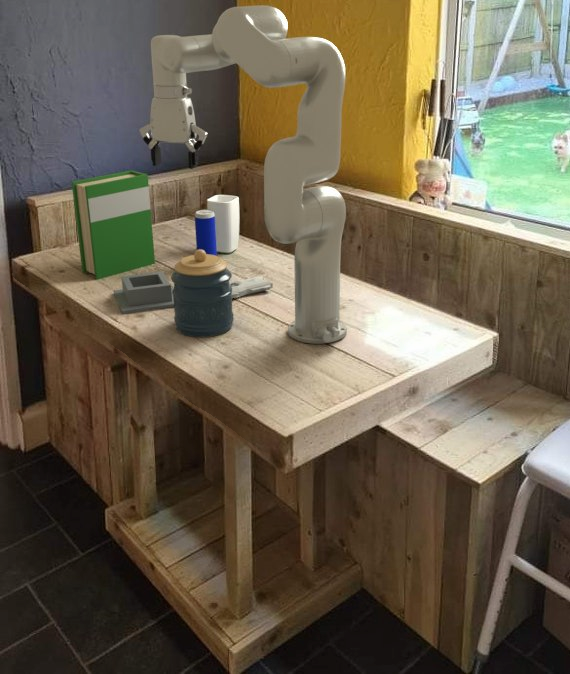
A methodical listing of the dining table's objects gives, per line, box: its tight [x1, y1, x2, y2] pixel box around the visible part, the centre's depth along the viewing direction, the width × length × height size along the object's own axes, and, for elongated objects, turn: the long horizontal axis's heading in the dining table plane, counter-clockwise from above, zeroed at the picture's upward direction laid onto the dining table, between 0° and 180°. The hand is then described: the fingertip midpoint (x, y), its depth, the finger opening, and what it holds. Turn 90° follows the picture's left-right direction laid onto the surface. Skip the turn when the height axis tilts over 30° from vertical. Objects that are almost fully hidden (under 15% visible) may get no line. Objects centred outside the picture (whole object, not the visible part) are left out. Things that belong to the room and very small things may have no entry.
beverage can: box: [194, 209, 218, 257], centre depth 216 cm, size 5×5×15 cm
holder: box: [113, 271, 174, 315], centre depth 197 cm, size 14×14×5 cm
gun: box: [229, 275, 274, 300], centre depth 201 cm, size 18×3×10 cm
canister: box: [170, 249, 234, 338], centre depth 179 cm, size 13×13×18 cm
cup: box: [206, 194, 240, 254], centre depth 229 cm, size 7×7×15 cm
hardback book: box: [71, 169, 156, 281], centre depth 215 cm, size 18×7×24 cm, turn 132°
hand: (175, 166), depth 199 cm, fingers open, 9 cm apart
